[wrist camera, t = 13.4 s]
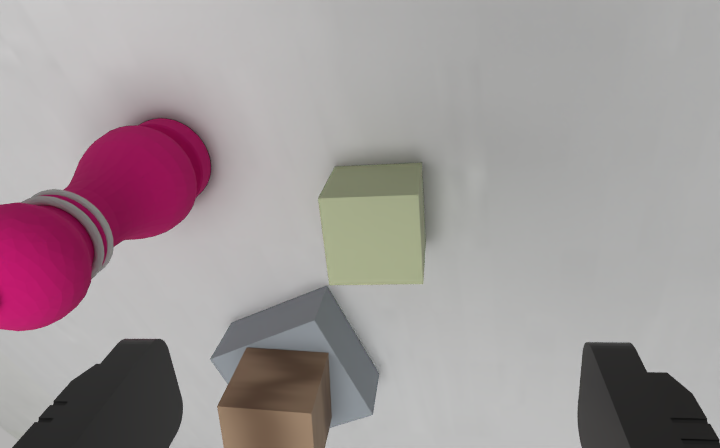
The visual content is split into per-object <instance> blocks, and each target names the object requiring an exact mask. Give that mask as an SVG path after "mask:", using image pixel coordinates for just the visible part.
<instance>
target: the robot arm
mask: <svg viewBox="0 0 720 448" xmlns="http://www.w3.org/2000/svg"><path fill="white" fill-rule="evenodd" d="M182 413H183V402H182V397H181V393H180V390H179V386H178V382H177V379H176V375H175V371H174V368H173V364H172V361H171V357H170V353H169V350H168V347H167V345H166V343H165V342H164V341H163V340H161V339H123V340H121V341H120V342H119V343H118V344H117V345H116V346H115V347H114V348H113V350H112V351H111V352H110V353H109V354H108V355H107V357H106V358H105V359H104V360H103V361H102V363H101V364H96V365H94V366H93V367H91V368H90V369H88V370H87V371H85V372H84V373H82V374H81V375H80V376H78V377H77V378H75V379H74V380H72V381H71V382H70V383H69V384H68V386H67V387H66V388H65V389H64V390H63V391H62V392H61V393H60V395H59V396H58V397H57V398H56V399H55V400H54V404H53V405H50V406H49V407H48V408H47V409H46V410H45V411H44V413H43V414H42V415H41V416H40V417H39V421H38V422H35V423H34V424H33V425H32V426H31V427H30V428H29V429H28V431H27V432H26V433H25V434H24V435H23V436H22V437H21V438H20V440H19V441H18V442H17V443H16V444H15V445H14V446H13V447H12V448H169V446H170V444H171V442H172V441H173V439H174V437H175V435H176V434H177V432H178V429H179V427H180V424H181V420H182ZM578 429H579V436H580V442H581V446H582V448H720V443H719V438H718V437H717V435H716V433H715V432H714V430H713V428H712V426H711V425H710V424H708V423H707V418H706V416H705V415H704V413H703V411H702V409H701V408H700V406H699V404H698V403H697V401H696V399H695V397H694V396H693V394H692V393H691V392H690V391H688V390H687V389H686V388H685V387H684V386H682V385H681V384H680V383H679V382H678V381H676V380H675V379H674V378H673V377H672V376H670V375H669V374H668V373H655V372H647V371H646V369H645V367H644V365H643V363H642V361H641V359H640V357H639V355H638V353H637V351H636V349H635V347H634V346H633V345H632V344H631V343H603V342H586V343H585V345H584V348H583V354H582V366H581V377H580V389H579V400H578Z"/></svg>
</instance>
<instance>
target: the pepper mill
mask: <svg viewBox="0 0 720 448" xmlns="http://www.w3.org/2000/svg"><path fill="white" fill-rule="evenodd" d="M210 173H211V164H210V158H209V155H208V151H207V149H206V147H205V145H204V143H203V142H202V140H201V139H200V138H199V136H198V135H197V134H196V133H194V132H193V131H192V130H191V129H190V128H189V127H187V126H186V125H184V124H182V123H179V122H177V121H175V120H171V119H163V118H158V119H152V120H148V121H146V122H144V123H142V124H140V125H138V126H124V127H119V128H117V129H114V130H111V131H109V132H108V133H106V134H105V135H103V136H102V137H101V138H99V139H98V140H96V141H95V142H94V143H93V144H92V145H91V146H90V147H89V148H88V150H87V151H86V152H85V154H84V155H83V157H82V158H81V160H80V161H79V164H78V166H77V169H76V171H75V174H74V176H73V178H72V180H71V182H70V184H69V185H68V187H67V188H65V189H64V190H56V189H52V190H46V191H42V192H39V193H37V194H35V195H34V196H32V197H31V198H29V199H27V200H25V201H23V202H21V203H11V204H3V205H0V329H4V330H13V331H25V330H34V329H38V328H42V327H45V326H48V325H50V324H52V323H54V322H56V321H58V320H60V319H62V318H63V317H65V316H66V315H67V314H68V313H70V312H71V311H72V310H73V309H74V308H76V307H77V306H78V304H79V303H80V302H81V301H82V299H83V298H84V297H85V295H86V293H87V290H88V288H89V286H90V283H91V279H92V278H93V277H94V276H96V274H97V273H98V272H99V271H101V270H102V269H103V268H104V267H105V266H106V265H107V264H108V263H109V261H110V259H111V256H112V253H113V247H114V246H116V245H117V244H119V243H120V242H121V241H123V240H131V239H143V238H148V237H153V236H156V235H159V234H162V233H164V232H167V231H168V230H170V229H172V228H173V227H174V226H176V225H177V224H179V223H180V222H181V221H182V220H183V219H184V218H185V217H186V216H187V215H188V213H189V212H190V210H191V209H192V207H193V205H194V201H195V198H196V197H197V196H198V195H199V194H200V193H201V192H202V191H203V190H204V188H205V187H206V185H207V183H208V181H209V178H210Z"/></svg>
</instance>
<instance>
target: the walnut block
mask: <svg viewBox="0 0 720 448" xmlns="http://www.w3.org/2000/svg"><path fill="white" fill-rule="evenodd" d="M217 408H218V414H219V420H220V426H221V432H222V439H223V445H224V448H325V444H326V440H327V436H328V432H329V427H330V423H331V419H332V412H331V392H330V372H329V353H326V352H310V351H294V350H279V349H263V348H246V350H245V352H244V354H243V356H242V358H241V360H240V362H239V364H238V366H237V368H236V370H235V372H234V374H233V376H232V378H231V380H230V382H229V384H228V386H227V388H226V390H225V392H224V394H223V396H222V398H221V400H220V402H219V404H218V406H217Z"/></svg>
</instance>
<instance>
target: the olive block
mask: <svg viewBox="0 0 720 448" xmlns="http://www.w3.org/2000/svg"><path fill="white" fill-rule="evenodd" d="M318 202H319V210H320V217H321V225H322V233H323V240H324V248H325V255H326V263H327V271H328V278H329V285H383V284H423V279H424V262H425V245H426V238H425V218H424V198H423V177H422V163H403V164H381V165H359V166H338V167H334V169H333V171H332V173H331V175H330V177H329V179H328V181H327V183H326V184H325V186H324V188H323V190H322V192H321V194H320V196H319V198H318Z"/></svg>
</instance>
